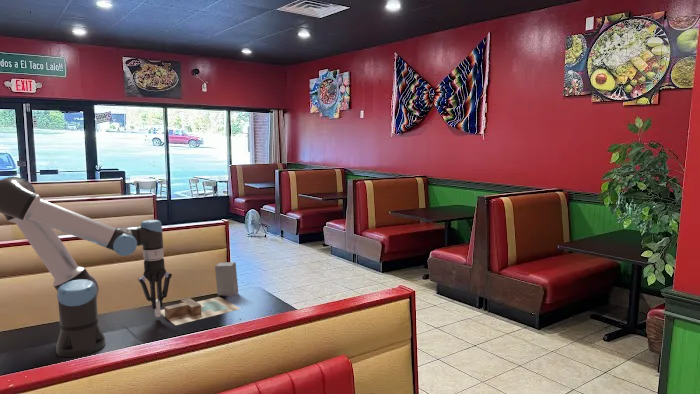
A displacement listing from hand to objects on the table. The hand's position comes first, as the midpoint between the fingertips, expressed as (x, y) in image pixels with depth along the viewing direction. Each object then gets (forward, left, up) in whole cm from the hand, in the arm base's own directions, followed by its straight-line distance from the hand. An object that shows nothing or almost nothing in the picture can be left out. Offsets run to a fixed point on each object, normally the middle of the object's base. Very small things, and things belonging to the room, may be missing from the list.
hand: (157, 315), depth 191 cm
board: (+17, 0, -3) cm, 17 cm away
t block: (+10, 0, -2) cm, 10 cm away
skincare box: (+36, +13, -3) cm, 39 cm away
